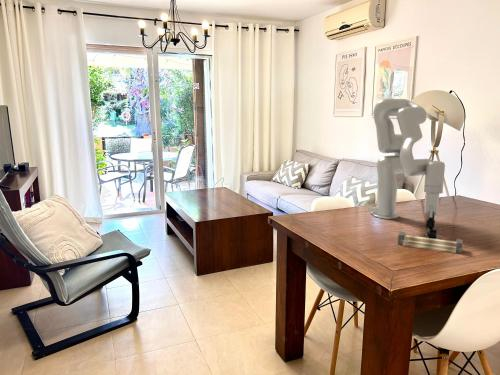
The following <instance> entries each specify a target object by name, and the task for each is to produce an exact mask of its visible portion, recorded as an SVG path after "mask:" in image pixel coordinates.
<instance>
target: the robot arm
mask: <svg viewBox="0 0 500 375" xmlns="http://www.w3.org/2000/svg"><path fill="white" fill-rule="evenodd" d="M372 115H373V120H374V124H375V129H376V138H377V139H376V141H377V147H378V151H379V152H380V153H382V154H393V155H385V156H384V155H383V156H382V157H380V158H378V160H377V162H376V172H377V192H376V193H377V194H376V206H370V205H369V206H368V207H367V210H368V211H370V212H372V216H373V217H375V218H379V219H385V220H387V219H388V220H392V219H398V218H399V213H397V211H396V209H397V208H396V207H397V197H398V196H397V193H398V180H397V178H396V176H395V175H397V174H398V175H399V174H400V175H401V174H406V175H407V176H409V177H418V176H419V177H420V176H424V186H423V187H424V188H423V192H424V193H425V200H424V213H423V214H424V215H426V214H427V218H426V225H425V228H426V229H427V230H428V227H435V224H436V223H435V221H436V220H435V216H436V215H437V213H438V208H439V201H440V194H443V191H444V180H445V169H446V164H445V162H444V161H440V160H439V161H438V160H432V159H431V158H429V159H428V158H418V159H417V158H414V155H413V147H414V145H415V144H416V143H417V142H419V141H421V139H422V138H423V133H422V130H421V125H422V124H424V123H425V122H426V120H427V118H428V117H427V116H428V114H427V112H426V110H425V108H423V107H422V106H420V105H419V104H418V103H415V102H414V101H411V100H409V99H405V98H384V99H380V100H379V101H378V102H377V103H375V106H374V108H373V114H372ZM390 117H396V120H397V123H398V126H399V130H400V134H399V133H397V134H396V133H395V126H394V123H393V121H392V120H391V118H390Z"/></svg>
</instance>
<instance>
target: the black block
mask: <svg viewBox="0 0 500 375" xmlns="http://www.w3.org/2000/svg"><path fill="white" fill-rule="evenodd" d="M437 232H438V231H437V228H436V227H435V226H434V227H428V229H427V231H426V233H422V235H423V236H424V238H432V239H439V240H441V239H440V237H439V236H438V235H437V234H438V233H437Z"/></svg>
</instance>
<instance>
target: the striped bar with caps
mask: <svg viewBox="0 0 500 375" xmlns="http://www.w3.org/2000/svg"><path fill="white" fill-rule="evenodd" d="M439 239H440V238H439ZM439 239H432V238H425V236H424V237H422V236H415V235H408V234H406V232H405V231H399V233H398V237H397V245H401V246H403V247H411V248H417V249H425V250H430V251H431V250H432V251H438V252H444V253H445V252H446V253H449V254H450V253H451V254H452V253H453V254H462V253H463V244H464V243H463V239H459V238H456V241H452V240H446V239H440V240H439Z"/></svg>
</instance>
